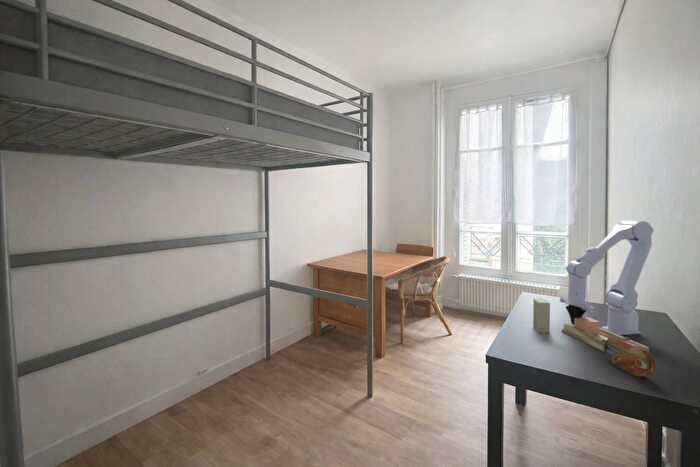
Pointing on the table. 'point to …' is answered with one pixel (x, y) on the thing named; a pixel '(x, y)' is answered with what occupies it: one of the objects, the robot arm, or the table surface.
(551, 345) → the table surface
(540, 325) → the skincare box
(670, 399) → the table surface
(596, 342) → the chute
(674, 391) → the table surface
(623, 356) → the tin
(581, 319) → the block
